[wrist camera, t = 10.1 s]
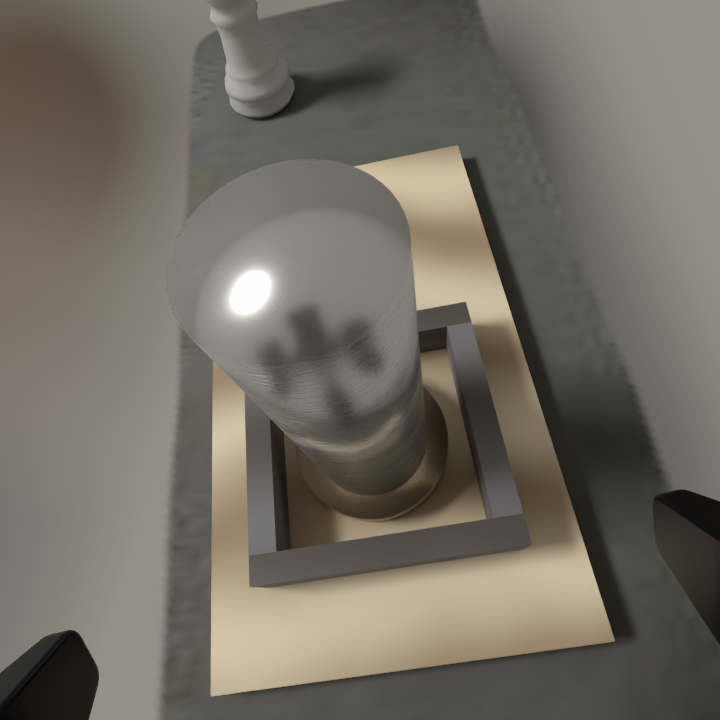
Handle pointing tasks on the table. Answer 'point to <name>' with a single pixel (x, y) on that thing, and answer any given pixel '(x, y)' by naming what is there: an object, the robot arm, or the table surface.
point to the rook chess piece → (250, 61)
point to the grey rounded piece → (318, 326)
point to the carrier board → (427, 522)
